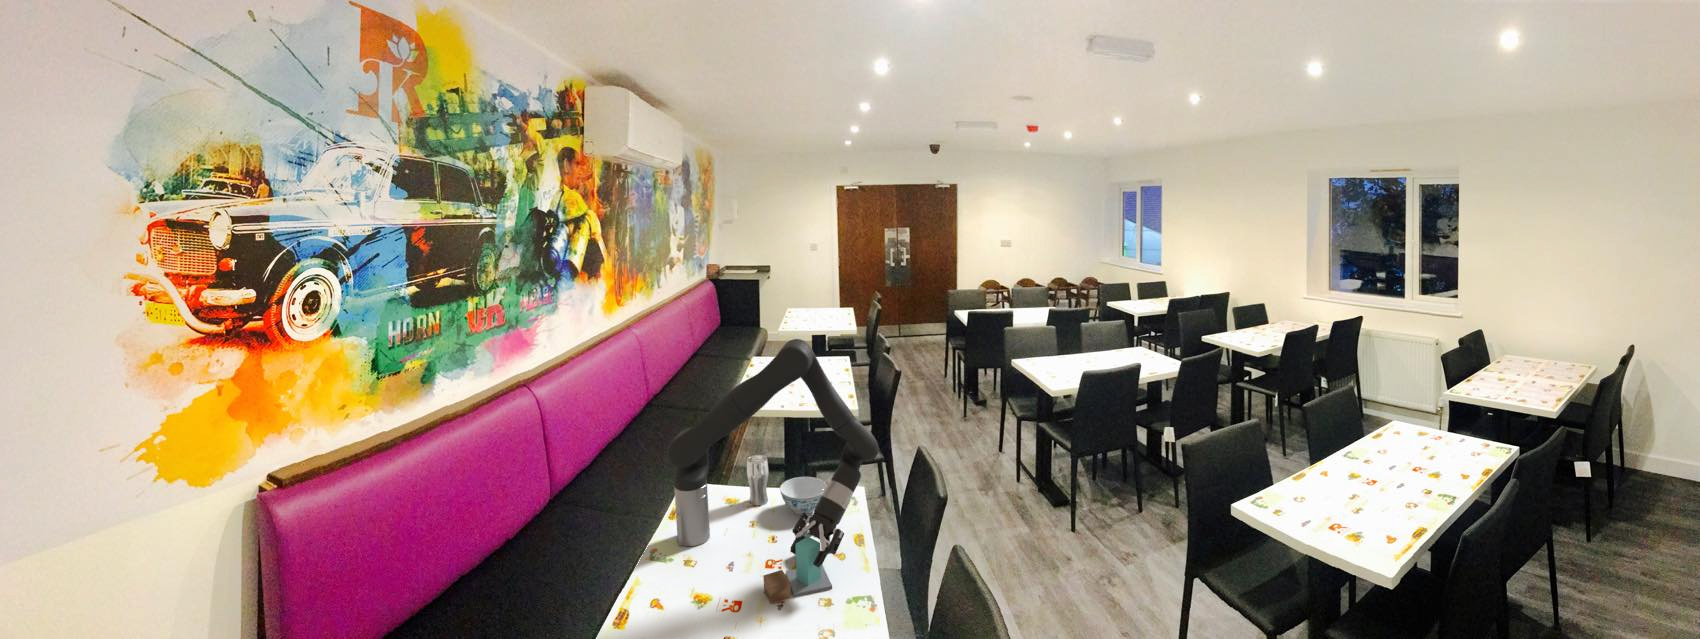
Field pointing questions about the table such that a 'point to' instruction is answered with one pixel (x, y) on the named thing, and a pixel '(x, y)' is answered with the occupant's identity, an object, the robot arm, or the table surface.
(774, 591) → the walnut cube
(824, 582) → the coaster
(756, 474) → the beer glass
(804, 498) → the chinaware
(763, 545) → the table surface
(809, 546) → the teal block
